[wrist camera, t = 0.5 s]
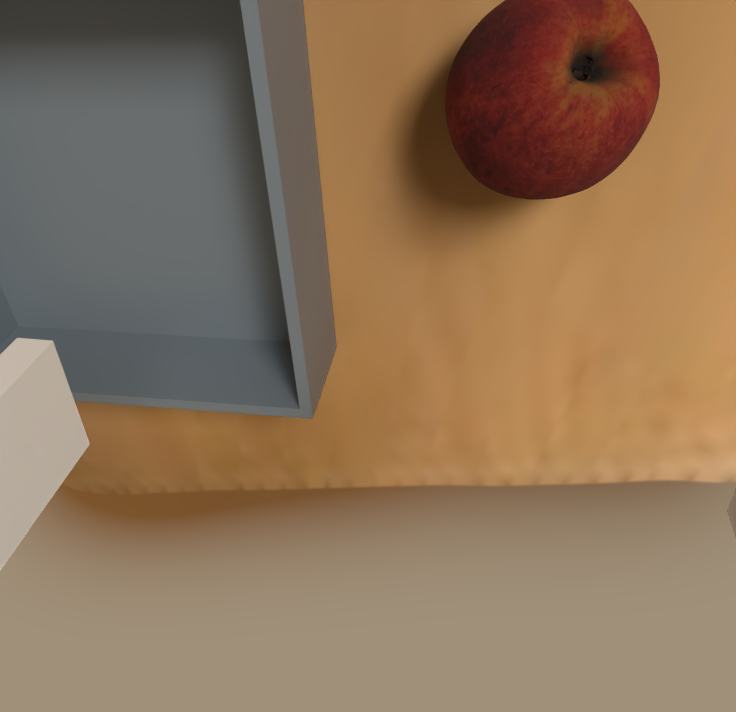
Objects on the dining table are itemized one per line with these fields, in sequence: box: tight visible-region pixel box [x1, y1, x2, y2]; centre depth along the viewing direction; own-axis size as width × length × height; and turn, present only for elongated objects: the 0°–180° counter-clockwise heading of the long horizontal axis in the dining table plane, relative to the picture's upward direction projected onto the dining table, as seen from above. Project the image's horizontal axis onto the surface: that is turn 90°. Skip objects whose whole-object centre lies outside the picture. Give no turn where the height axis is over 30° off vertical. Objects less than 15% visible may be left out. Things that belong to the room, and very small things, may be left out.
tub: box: [0, 0, 336, 419], centre depth 33 cm, size 20×20×6 cm
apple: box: [446, 0, 660, 199], centre depth 26 cm, size 7×8×8 cm
